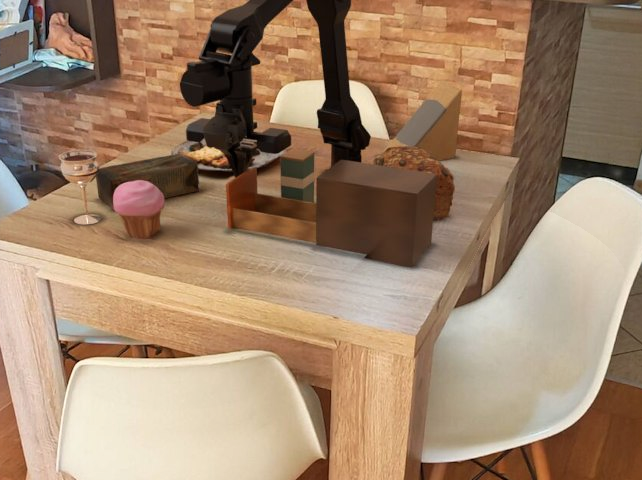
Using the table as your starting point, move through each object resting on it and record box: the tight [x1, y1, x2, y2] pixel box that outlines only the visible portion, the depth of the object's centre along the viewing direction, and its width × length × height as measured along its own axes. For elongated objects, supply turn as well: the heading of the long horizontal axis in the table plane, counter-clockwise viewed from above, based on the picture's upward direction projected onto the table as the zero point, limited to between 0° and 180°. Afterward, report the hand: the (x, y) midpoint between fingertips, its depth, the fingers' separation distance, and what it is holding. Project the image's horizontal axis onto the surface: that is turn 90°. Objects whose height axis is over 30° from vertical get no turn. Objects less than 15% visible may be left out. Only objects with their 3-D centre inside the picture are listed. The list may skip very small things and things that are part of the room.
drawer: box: [225, 167, 316, 244], centre depth 147 cm, size 19×10×9 cm, turn 65°
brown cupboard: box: [315, 160, 437, 268], centre depth 139 cm, size 18×10×13 cm, turn 65°
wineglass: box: [58, 149, 102, 225], centre depth 150 cm, size 7×7×12 cm
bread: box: [372, 146, 456, 220], centre depth 157 cm, size 19×11×10 cm, turn 13°
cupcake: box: [113, 180, 165, 240], centre depth 144 cm, size 9×9×10 cm
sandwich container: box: [382, 80, 463, 161], centre depth 180 cm, size 9×15×15 cm, turn 116°
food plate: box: [170, 136, 287, 173], centre depth 181 cm, size 25×23×4 cm
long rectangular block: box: [279, 148, 316, 203], centre depth 154 cm, size 5×5×11 cm
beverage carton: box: [95, 153, 200, 211], centre depth 161 cm, size 8×19×7 cm, turn 126°
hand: (240, 182), depth 151 cm, fingers closed
